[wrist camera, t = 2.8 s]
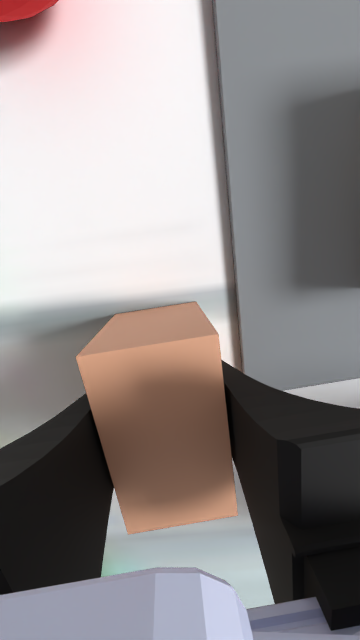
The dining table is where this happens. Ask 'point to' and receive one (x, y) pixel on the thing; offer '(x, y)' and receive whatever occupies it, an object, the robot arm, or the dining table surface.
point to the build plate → (293, 184)
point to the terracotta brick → (162, 416)
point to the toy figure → (22, 8)
